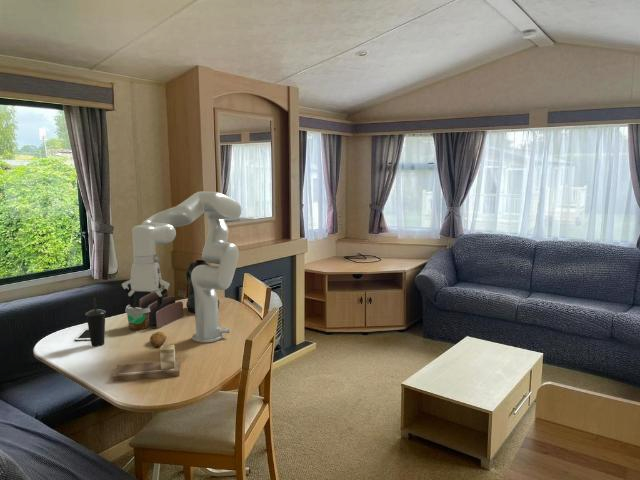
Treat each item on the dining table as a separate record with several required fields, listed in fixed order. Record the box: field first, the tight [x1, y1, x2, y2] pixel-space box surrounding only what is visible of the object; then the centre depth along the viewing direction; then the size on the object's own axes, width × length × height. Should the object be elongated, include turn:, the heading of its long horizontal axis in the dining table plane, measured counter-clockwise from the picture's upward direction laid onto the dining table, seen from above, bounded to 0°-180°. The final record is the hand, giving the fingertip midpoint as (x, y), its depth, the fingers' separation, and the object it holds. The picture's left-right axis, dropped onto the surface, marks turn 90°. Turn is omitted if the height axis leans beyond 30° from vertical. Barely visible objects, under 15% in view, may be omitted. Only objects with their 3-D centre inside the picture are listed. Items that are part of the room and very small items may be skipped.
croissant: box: [149, 331, 168, 348], centre depth 208 cm, size 14×7×5 cm, turn 15°
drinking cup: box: [84, 296, 107, 348], centre depth 204 cm, size 8×8×20 cm
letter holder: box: [138, 289, 185, 330], centre depth 235 cm, size 10×20×14 cm, turn 159°
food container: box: [124, 304, 151, 332], centre depth 224 cm, size 12×6×10 cm, turn 68°
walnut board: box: [112, 359, 181, 383], centre depth 178 cm, size 22×10×2 cm, turn 103°
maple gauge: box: [159, 344, 176, 369], centre depth 179 cm, size 5×5×7 cm
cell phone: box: [74, 328, 91, 342], centre depth 217 cm, size 8×15×1 cm, turn 7°
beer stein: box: [185, 259, 221, 315], centre depth 253 cm, size 16×19×25 cm
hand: (147, 306), depth 181 cm, fingers open, 9 cm apart
